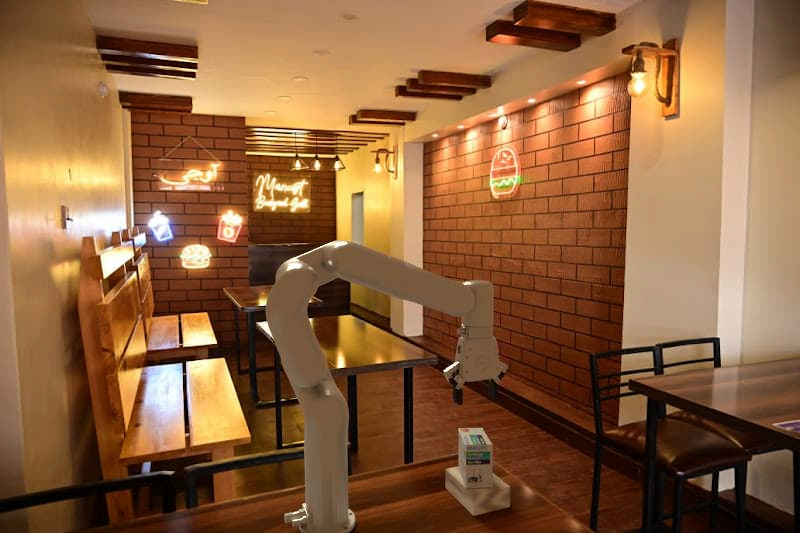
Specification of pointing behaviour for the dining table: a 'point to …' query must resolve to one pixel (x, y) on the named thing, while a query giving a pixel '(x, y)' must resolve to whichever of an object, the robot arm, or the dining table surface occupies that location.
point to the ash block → (477, 493)
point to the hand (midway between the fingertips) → (475, 401)
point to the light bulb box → (475, 458)
